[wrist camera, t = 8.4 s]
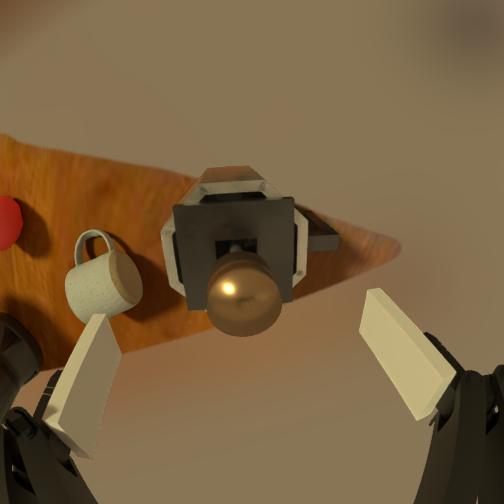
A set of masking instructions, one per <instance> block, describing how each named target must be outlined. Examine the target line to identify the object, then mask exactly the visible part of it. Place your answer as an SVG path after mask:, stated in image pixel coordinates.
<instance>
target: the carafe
mask: <svg viewBox="0 0 504 504" xmlns="http://www.w3.org/2000/svg"><path fill="white" fill-rule="evenodd" d="M237 192H255V193H256V194H257V195H258V197H259V198H252V199H236V200H222V201H209V202H201V200H202V199H203V197H204V196H205V195H209V194H222V193H237ZM308 230H309V232H308ZM160 232H161V239H162V245H163V251H164V257H165V263H166V268H167V274H168V279H169V284H170V286H171V287H172V288H173V289H175V290H176V291H178V292H179V293H180V294H182V295H183V296H185V297H186V301H187V307H188V311H189V310H205V311H207V309H206V304H207V287H208V275H209V272H210V269H211V267H212V266H213V264H214V263H215V262H216V261H217V260H218V259H219V258H220V257H222V256H223V255H225V254H227V253H230V252H225V251H220V250H218V249H216V244H215V241H223V240H236V239H250V238H256V242H255V243H254V244H253V245H251V246H250V247H248V248H246V249H244V250H242V251H249V252H252V253H255V254H257V255H259V256H260V257H262V258H263V259H264V260H265V261H266V262H267V263H268V265H269V267H270V269H271V271H272V274H273V277H274V279H275V282H276V284H277V287H278V290H279V292H280V295H281V299H282V303H285V302H292V289H293V287H294V286H295V285H296V284H297V283H298V282H299V281H300V280H301V279H302V278H303V277H304V276H305V275H306V263H307V253H308V252H321V251H333V250H338V246H339V234H338V233H337V232H336V231H335V230H334V229H332V228H331V227H330V226H329V225H328V224H326V223H325V222H324V221H323V220H322V219H320V218H319V217H318V216H317V215H316V214H314V213H313V212H312V211H311V210H308V211H297V210H296V209H295V208H294V198H293V197H283V196H282V195H281V194H280V193H278V192H277V191H276V190H275V189H274V188H273V187H272V186H271V185H270V184H269V183H268V182H267V181H266V180H265V179H264V178H262V177H261V176H260V175H259V174H258V173H257V172H255V171H254V170H253V169H252V168H251V167H249V166H231V167H230V166H228V167H218V168H207V169H206V171H205V172H204V173H203V174H202V175H201V176H200V178H199V179H198V180H197V181H196V182H195V183H194V184H193V186H192V187H191V188H190V189H189V190H188V192H187V193H186V194H185V195H184V196H183V198H182V199H181V200H180V202H179V203H178V204H175V205H174V206H173V212H172V214H171V215H170V217H169V219H168V220H167V222H166V223H165V225H164V226H163V228H162V230H161V231H160Z"/></svg>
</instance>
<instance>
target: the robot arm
mask: <svg viewBox="0 0 504 504" xmlns="http://www.w3.org/2000/svg"><path fill="white" fill-rule="evenodd" d="M359 333H360V334H361V336H362V337H363V338H364V340H365V341H366V343H367V344H368V346H369V347H370V349H371V350H372V352H373V353H374V355H375V356H376V358H377V359H378V361H379V362H380V364H381V365H382V367H383V368H384V370H385V371H386V373H387V374H388V376H389V377H390V379H391V381H392V382H393V384H394V385H395V387H396V388H397V390H398V392H399V393H400V395H401V396H402V398H403V400H404V401H405V403H406V404H407V406H408V408H409V409H410V411H411V412H412V414H413V416H414V417H415V419H416V421H417V420H419V419H421V418H424V417H426V416H428V415H429V414H430V413H431V412H432V410H433V409H434V408H435V406H436V408H437V409H438V412H437V414H436V415H435V416H434V417H433V419H432V420H431V422H430V424H429V426H431V425H432V423H433V422H434V421H435V424H434V430H433V435H432V440H431V444H430V449H429V453H428V457H427V462H426V465H425V469H424V473H423V476H422V480H421V483H420V486H419V489H418V492H417V495H416V498H415V501H414V504H476V501H477V496H478V504H504V365H498V366H497V367H496V369H495V370H494V372H493V374H489V375H484V376H482V375H480V374H479V373H478V372H476V371H472V370H468V371H465V370H464V369H463V368H462V366H461V365H460V364H459V363H458V362H457V361H456V359H455V358H454V357H453V356H452V355H451V354H450V353H449V352H448V351H447V349H446V348H445V347H444V346H442V344H441V343H440V342H439V341H438V339H437V338H436V337H434V336H433V335H431V334H429V333H428V332H425V333H422V332H421V331H420V330H419V329H418V328H417V326H416V325H415V324H414V323H413V322H412V321H411V320H410V319H409V318H408V317H407V316H406V315H405V314H404V313H403V312H402V310H400V308H399V307H398V306H397V305H396V304H395V303H394V302H393V301H392V300H391V299H390V298H389V297H388V296H387V295H386V294H385V293H384V292H383V291H382V290H381V289H380V288H376V289H370V290H367V295H366V300H365V306H364V311H363V316H362V320H361V324H360V329H359ZM121 356H122V354H121V351H120V349H119V347H118V344H117V342H116V339H115V337H114V334H113V331H112V329H111V326H110V323H109V321H108V318H107V315H106V314H93V315H92V317H91V319H90V320H89V322H88V324H87V326H86V328H85V329H84V331H83V333H82V335H81V337H80V338H79V340H78V342H77V344H76V346H75V348H74V350H73V352H72V354H71V356H70V358H69V360H68V362H67V364H66V366H65V368H64V370H57V371H56V372H55V373H54V374H53V375H52V377H51V378H50V380H49V382H48V384H47V388H45V390H44V392H43V393H44V394H43V395H42V397H41V399H40V401H39V403H38V406H37V408H36V410H35V413H34V415H33V417H31V415H30V414H29V413H28V412H27V411H26V410H25V409H24V408H23V407H13V408H12V409H10V408H11V406H12V404H13V402H14V400H15V398H16V396H17V394H18V392H19V390H20V389H21V387H23V385H25V384H26V383H28V382H29V381H30V380H32V379H33V378H34V377H35V376H37V375H38V373H39V372H40V370H41V368H42V366H43V356H42V353H41V351H40V349H39V347H38V345H37V343H36V342H35V340H34V339H33V337H32V336H31V335H30V334H29V332H28V331H27V330H26V329H25V328H24V327H23V326H22V325H21V324H20V323H19V322H18V321H16V320H15V319H14V318H12V317H11V316H9V315H7V314H5V313H2V312H0V504H98V503H97V501H96V500H95V498H94V496H93V495H92V493H91V492H90V490H89V488H88V487H87V485H86V483H85V481H84V480H83V478H82V476H81V475H80V473H79V471H78V469H77V467H76V465H75V463H74V461H73V459H72V458H71V457H70V456H69V455H70V451H71V450H72V451H73V452H74V453H75V454H76V455H77V456H79V457H83V458H87V459H92V460H93V457H94V453H95V448H96V444H97V439H98V435H99V431H100V427H101V423H102V419H103V416H104V412H105V408H106V405H107V401H108V398H109V394H110V391H111V388H112V384H113V381H114V378H115V374H116V371H117V368H118V365H119V362H120V359H121ZM496 406H497V407H498V410H499V411H498V412H497V413H496V412H495V407H496ZM3 424H4V425H5V426H6V427H7V429H5V428H4V427H3ZM12 466H13V471H12Z"/></svg>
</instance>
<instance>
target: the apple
mask: <svg viewBox="0 0 504 504" xmlns="http://www.w3.org/2000/svg"><path fill="white" fill-rule="evenodd" d="M22 227H23V219H22V214H21V210H20V206H19V205H18V204H17V203H16V202H15V201H14V200H13V199H12V198H11V197H10V196H0V251H2V250H5V249H8V248H10V247H11V246H12V245H13V244H14V243H15V241H16V240H17V239H18V238H19V236H20V233H21V230H22Z"/></svg>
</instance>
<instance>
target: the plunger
mask: <svg viewBox="0 0 504 504" xmlns="http://www.w3.org/2000/svg"><path fill="white" fill-rule="evenodd" d="M252 198H259V197H258V195H257V194H256V193H255V192H237V193H222V194H209V195H205V196H204V197H203V199H202V200H201V202H209V201H222V200H236V199H252ZM255 242H256V238H250V239H236V240H223V241H215V244H216V249H218V250H220V251H225V252H230V253H227V254H225V255H223V256H222V257H220V258H219V259H218V260H217V261H216V262H215V263H214V264H213V266H212V267H211V269H210V272H209V275H208V287H207V304H206V309H207V314H208V317H209V319H210V321H211V322H212V324H213V325H214V326H215V327H216V328H217V329H219V330H220V331H222V332H224V333H226V334H229V335H232V336H239V337H246V336H252V335H256V334H259V333H261V332H263V331H265V330H267V329H268V328H269V327H271V326H272V325H273V324H274V323H275V321H276V320H277V319H278V317H279V315H280V313H281V308H282V299H281V295H280V292H279V290H278V287H277V284H276V282H275V279H274V277H273V274H272V271H271V269H270V267H269V265H268V263H267V262H266V261H265V260H264V259H263V258H262V257H260V256H259V255H257V254H255V253H252V252H249V251H242V250H244V249H246V248H248V247H250V246H251V245H253V244H254V243H255Z"/></svg>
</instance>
